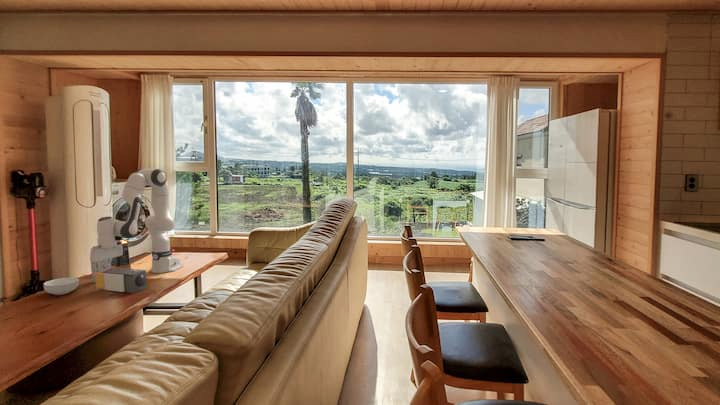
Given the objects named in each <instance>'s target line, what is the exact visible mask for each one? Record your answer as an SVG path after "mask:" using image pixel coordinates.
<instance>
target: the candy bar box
mask: <svg viewBox="0 0 720 405" xmlns="http://www.w3.org/2000/svg"><path fill="white" fill-rule="evenodd" d="M106 262H108V260H107V261H106ZM90 268H91V279H92V283H93V284H96V280H95V273H97V272H99V273H105V272H107V271H110V270H112V269H111V263H110V266H108V267H104V263H103V262H102V261H99V262H91V261H90Z"/></svg>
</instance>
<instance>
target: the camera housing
mask: <svg viewBox="0 0 720 405" xmlns="http://www.w3.org/2000/svg"><path fill="white" fill-rule="evenodd" d="M105 273H109V274H119V275H124V285H125V293H129V294H135V293H138V292H140V291H142V290H145V289H147V288H148V286H147V283H148V282H147V270H146V269H136V268H131V269H128V268H117V269H114V270H110V271H107V272H105Z"/></svg>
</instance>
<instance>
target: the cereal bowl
mask: <svg viewBox="0 0 720 405" xmlns="http://www.w3.org/2000/svg"><path fill="white" fill-rule="evenodd" d="M79 284H80V279H79V278H78V277H61V278H56V279H51V280H48V281H45V282H43V289H44V291H45V292H46V293H48V294H53V295H54V296H62V295H67V294H69V293H71V292H72V291H74V290H76V289H77V288H78V286H79Z"/></svg>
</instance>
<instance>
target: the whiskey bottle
mask: <svg viewBox="0 0 720 405" xmlns="http://www.w3.org/2000/svg"><path fill="white" fill-rule="evenodd" d="M114 238H115V240H116V241H122V244H121V245H122V248H123V254H122V256H118V257H115V258H112V261H111V269H112V270H114V269H117V268H128V269H132V266H131V265H132V264H130V262H131V261H130V252H129V245H130V242H128V241H127V240H125V239H123V237H119V236H115V237H114Z"/></svg>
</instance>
